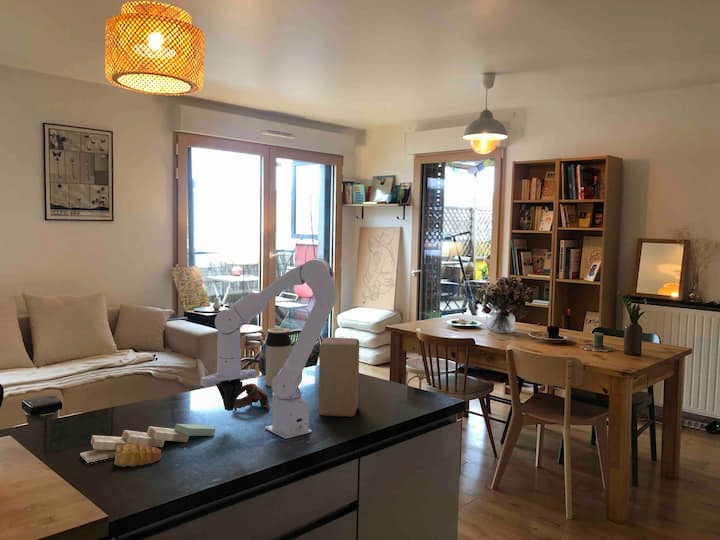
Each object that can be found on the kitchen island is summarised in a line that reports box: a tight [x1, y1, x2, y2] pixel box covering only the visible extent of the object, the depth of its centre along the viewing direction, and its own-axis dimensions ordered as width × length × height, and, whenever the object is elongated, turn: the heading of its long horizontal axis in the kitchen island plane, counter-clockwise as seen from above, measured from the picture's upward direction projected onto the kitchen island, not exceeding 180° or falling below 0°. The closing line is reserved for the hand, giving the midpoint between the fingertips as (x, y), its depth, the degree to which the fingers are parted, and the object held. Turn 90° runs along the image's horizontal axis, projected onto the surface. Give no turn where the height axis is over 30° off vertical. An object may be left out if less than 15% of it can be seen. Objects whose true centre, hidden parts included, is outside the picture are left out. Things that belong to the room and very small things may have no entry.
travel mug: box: [265, 327, 292, 387], centre depth 190 cm, size 8×8×18 cm
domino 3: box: [121, 429, 166, 448], centre depth 134 cm, size 5×2×8 cm
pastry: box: [113, 443, 162, 468], centre depth 126 cm, size 9×7×4 cm
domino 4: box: [146, 425, 190, 443], centre depth 137 cm, size 5×2×8 cm
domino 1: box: [79, 449, 116, 464], centre depth 128 cm, size 5×2×8 cm
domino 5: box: [174, 423, 216, 437], centre depth 141 cm, size 5×2×8 cm
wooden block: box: [318, 337, 360, 418], centre depth 163 cm, size 10×10×20 cm
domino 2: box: [90, 435, 133, 450], centre depth 131 cm, size 5×2×8 cm
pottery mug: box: [233, 383, 271, 412], centre depth 164 cm, size 12×10×8 cm
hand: (229, 409), depth 148 cm, fingers closed
